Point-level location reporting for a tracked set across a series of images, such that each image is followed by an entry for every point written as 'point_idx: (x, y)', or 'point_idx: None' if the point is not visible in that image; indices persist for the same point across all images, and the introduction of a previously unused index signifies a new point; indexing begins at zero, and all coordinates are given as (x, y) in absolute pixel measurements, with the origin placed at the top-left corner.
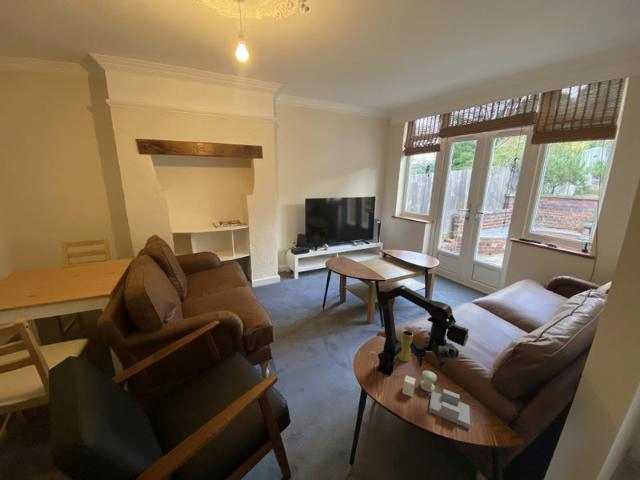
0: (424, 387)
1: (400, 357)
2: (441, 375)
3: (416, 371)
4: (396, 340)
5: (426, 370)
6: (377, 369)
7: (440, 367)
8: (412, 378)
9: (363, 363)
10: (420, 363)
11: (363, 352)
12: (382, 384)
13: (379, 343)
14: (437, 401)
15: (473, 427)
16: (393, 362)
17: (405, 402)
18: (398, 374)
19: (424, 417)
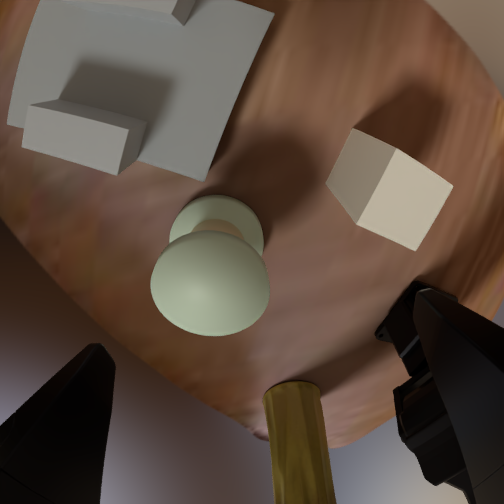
0: (245, 217)
1: (315, 395)
2: (120, 334)
3: (251, 339)
4: (464, 478)
5: (222, 335)
6: (457, 299)
7: (101, 347)
8: (381, 225)
9: None
10: (490, 326)
11: None
12: (474, 207)
13: (363, 426)
14: (191, 80)
15: None
16: (414, 349)
17: (404, 82)
18: (367, 297)
19: None
